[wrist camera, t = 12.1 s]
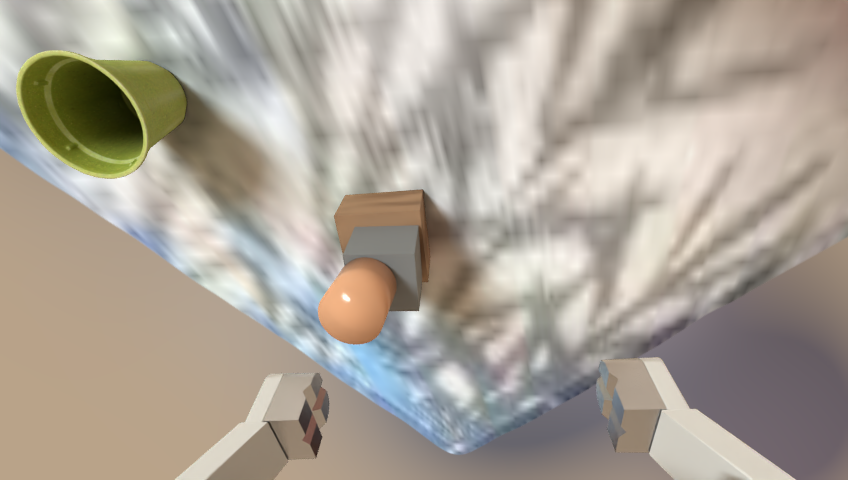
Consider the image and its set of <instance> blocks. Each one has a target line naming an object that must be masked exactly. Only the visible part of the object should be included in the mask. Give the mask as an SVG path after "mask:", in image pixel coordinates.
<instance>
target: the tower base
mask: <svg viewBox="0 0 848 480" xmlns="http://www.w3.org/2000/svg"><path fill="white" fill-rule="evenodd" d="M334 218H335V223H336V227H337V231H338V235H339V240H340V244H341V248H342V252H343V253H344V251H345V248H346V246H347V244H348V242H349V239H350V237H351V235H352V232H353V230H354V228H355V227H369V226H410V225H419V239H420V253H421V266H422V282H428V278H429V265H430V250H429V241H428V233H427V224H426V215H425V206H424V197H423V190H409V191H396V192H382V193H369V194H355V195H345V197H344V199H343V200H342V202H341V204H340V206H339V208H338V210H337V212H336V213H335V215H334Z"/></svg>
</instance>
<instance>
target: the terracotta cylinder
mask: <svg viewBox="0 0 848 480" xmlns="http://www.w3.org/2000/svg"><path fill="white" fill-rule="evenodd" d="M396 289H397V283H396V279H395V276H394V274H393V273H392V271H391V270H390V269H389V268H388V267H387V266H386V265H385V264H384V263H382V262H380V261H378V260H376V259H373V258H367V257H361V258H356V259H353V260H351V261H350V262H348V263H347V264H346V265H345V266H344V267H343V269H342V270H341V272H340V273H339V275H338V276H337V277H336V279H335V280H334V282H333V283H332V285H331V286H330V288H329V289H328V291H327V292H326V293H325V295H324V296H323V298H322V299H321V301H320V303H319V307H318V316H319V320H320V322H321V324H322V326H323V327H324V329H325V330H326V331H327V332H328V333H329V334H330V335H331V336H332V337H334V338H335V339H337V340H339V341H341V342H344V343H348V344H364V343H367V342H370V341H372V340H373V339H375V338H376V337H377V336H378V335H379V333H380V332H381V330H382V327H383V325H384V322H385V319H386V317H387V314H388V312H389V309H390V307H391V304H392V301H393V299H394V296H395V294H396Z"/></svg>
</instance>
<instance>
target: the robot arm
mask: <svg viewBox="0 0 848 480" xmlns="http://www.w3.org/2000/svg"><path fill="white" fill-rule="evenodd" d="M599 371H600V374H601V377H600V378H599V379H598V380H597V386H596V389H597V399H598V403H599V407H600V410H601V413H602V415H603V416H605V417H606V418H607V419H608V420H609V422H608V428H607V430H608V433H609V435H610V438H611V441H612V444H613V447H614V449H615V452H629V453H631V452H632V453H633V452H634V453H638V452H639V453H649V455H650V456H651V457H652V458H653V459H654V460H655V461H656V462H657V463H658V464H659V465H660V466H661V467H662V468H663V469H664V470H665V471H666V472H667V473H668V474H669V475H670V476H671V477H672V478H673V479H674V480H796V479H794V478H793V477H791V476H790V475H789V474H787V473H786V472H784V471H783V470H781V469H780V468H779V467H777V466H776V465H774V464H773V463H772V462H770V461H769V460H767V459H766V458H765V457H763V456H762V455H760V454H759V453H758V452H756V451H755V450H753V449H752V448H750V447H749V446H748V445H746V444H745V443H743V442H742V441H741V440H739V439H738V438H736V437H735V436H734V435H732V434H731V433H729V432H728V431H727V430H725V429H724V428H722V427H721V426H720V425H718V424H717V423H715V422H714V421H712V420H711V419H710V418H708V417H706V416H705V415H704V414H702V413H701V412H700V411H698V410H697V409H690V408H689V406H688V404H687V403H686V401H685V399H684V397H683V395H682V394H681V392H680V390H679V389H678V387H677V385H676V383H675V381H674V380H673V378H672V376H671V374H670V373H669V371H668V369H667V367H666V366H665V364H664V362H663V360H661V359H660V358H659V357H655V358H639V359H638V358H628V359H610V360H601V362H600V365H599ZM321 384H322V378H321V376H320V374H319V373H295V374H294V373H288V374H269V375H268V376H267V377H266V379H265V380H264V382H263V385H262V387H261V389H260V391H259V393H258V396H257V397H256V400H255V402H254V404H253V406H252V408H251V411H250V413H249V415H248V417H247V419H246V421H245V423H239V424H238V425H237V426H236V427H235V428H234V429H232V430H231V431H230V432H229V433H228V434H227V435H226V436H224V437H223V438H222V439H221V440H220V441H219V442H217V443H216V444H215V445H214V446H213V447H212V448H211V449H210V450H208V451H207V452H206V453H205V454H204V455H203V456H201V457H200V458H199V459H198V460H197V461H196V462H194V463H193V464H192V465H191V466H190V467H189V468H188V469H186V470H185V471H184V472H183V473H182V474H181V475H179V476H178V477H177V478H176V479H175V480H273V479H274V478H275V477H276V476H277V475H278V473H279V472H280V471H281V470H282V469H283V467H284V466H285V465H286V464H287V463H288V460H292V459H314V458H316V457H317V454H318V450H319V447H320V443H321V440H322V435H321V432H320V430H319V429H320V428H321V427H322V426H323V425H324V424H325V423H326V422H327V418H328V414H329V398H328V394H327V391H326V390H325V389H324V388H322V387H321Z"/></svg>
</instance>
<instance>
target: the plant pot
mask: <svg viewBox="0 0 848 480" xmlns="http://www.w3.org/2000/svg"><path fill="white" fill-rule="evenodd" d="M16 92H17V99H18V103H19V107H20V109H21V112H22V115H23V117H24V119H25V121H26V123H27V124H28V126H29V128H30V129H31V131H32V132H33V133H34V135H35V136H36V137H37V139H38V140H39V141H40V142H41V143H42V145H43V146H44V147H45V148H46V149H47V150H48V151H49V152H51V153H52V154H53V155H54V156H55V157H57V158H58V159H60V160H61V161H62V162H64V163H65V164H67V165H68V166H70V167H72V168H74V169H76V170H78V171H80V172H82V173H84V174H87V175H90V176H94V177H98V178H107V179H114V178H120V177H124V176H127V175H129V174H131V173H132V172H134V171H135V170H137V169H138V168H139V167H140V166H141V165H142V163H143V162H144V160H145V158H146V156H147V153H148V151H149V150H150V148H151V147H152V146H154V145H155V144H156V143H157V142H158V141H160V140H161V139H162V138H163V137H165V136H166V135H167V134H168V133H170V132H171V131H172V130H173V129H175V128H176V127H177V126H178V125H180V124H181V123H182V122H183V120H184V118H185V112H186V106H187V100H186V96H185V93H184V91H183V89H182V87H181V85H180V84H179V82H178V81H177V80H176V78H175V77H174V76H173V75H172V74H171V73H170V72H169V71H167V70H166V69H164V68H162V67H160V66H158V65H156V64H153V63H151V62H148V61H122V60H95V59H91V58H87V57H85V56H83V55H80V54H77V53H73V52H69V51H60V50H53V51H45V52H41V53H38V54H36V55H34V56H32V57H31V58H29V59H28V60H27V61H26V62H25V64H24V65H23V66H22V67H21V69H20V71H19V73H18V78H17V85H16ZM130 101H131V102H130ZM131 103H132V104H131ZM132 105H133V106H134V107H133V106H132Z"/></svg>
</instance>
